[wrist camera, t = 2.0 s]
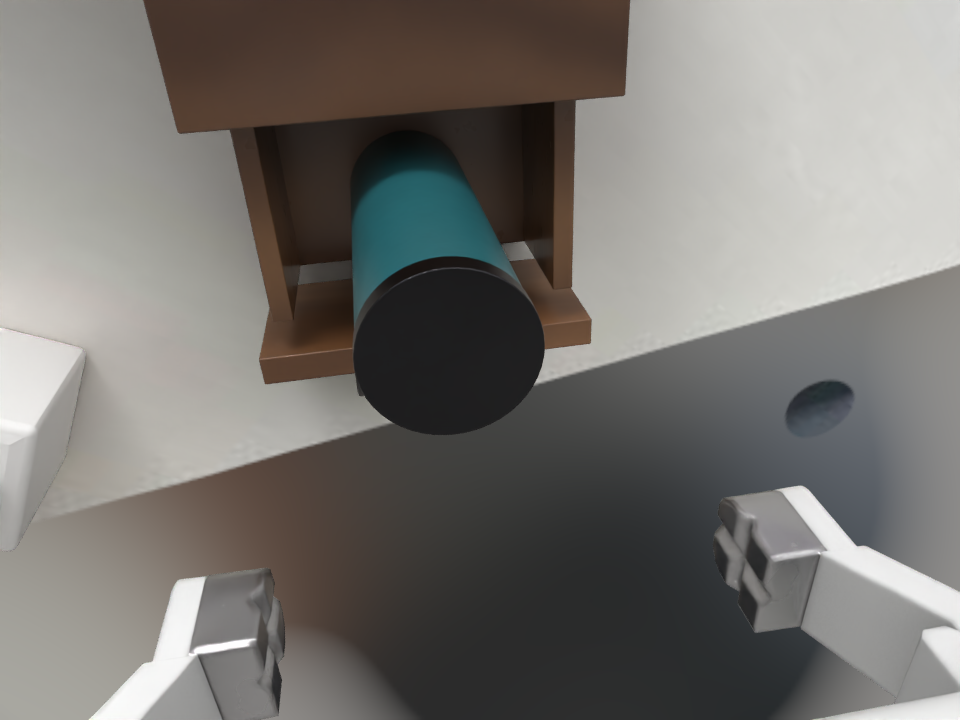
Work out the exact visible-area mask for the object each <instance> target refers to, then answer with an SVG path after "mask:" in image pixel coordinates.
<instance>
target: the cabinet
mask: <svg viewBox="0 0 960 720" xmlns="http://www.w3.org/2000/svg"><path fill="white" fill-rule="evenodd" d="M143 1H144V5H145V9H146V13H147V17H148V20H149V24H150V28H151V32H152V36H153V40H154V43H155V47H156V51H157V55H158V59H159V63H160V66H161V70H162V74H163V78H164V82H165V86H166V90H167V93H168V97H169V101H170V105H171V109H172V113H173V116H174V120H175V124H176V128H177V132H178V133H179V134H184V133H196V132H208V131H219V130H231V129H243V128H254V127H266V126H278V125H290V124H301V123H313V122H325V121H337V120H348V119H360V118H372V117H383V116H395V115H407V114H419V113H430V112H442V111H454V110H466V109H477V108H489V107H501V106H512V105H524V104H536V103H548V102H559V101H571V100H583V99H595V98H606V97H618V96H624V95H625V84H626V66H627V47H628V28H629V10H630V0H143Z"/></svg>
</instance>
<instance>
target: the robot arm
mask: <svg viewBox="0 0 960 720" xmlns="http://www.w3.org/2000/svg"><path fill="white" fill-rule="evenodd" d="M718 516H719V517H720V519H721V520H722V522H723V524H722V525H721V526H720V527H719V529H718V530H717V531H716V532H715V536H714V543H713V549H714V554H715V561H716V564H717V567H718V569H719V572H720V574H721V575H722V577H723V579H724V581H725V582H726V584H728V585H729V586H731V587H733V588H734V589H736V590H738V591H739V597H738V605H739V606H740V608H741V610H742V611H743V613H744V614H745V616H746V618H747V620H748V621H749V623H750V625H751V626H752V628H753V630H754V631H755V633H757V632H763V631H771V630H777V629H784V628H791V627H798V626H801V629H802V630H803V631H805V632H806V633H808V634H809V635H810V636H812V637H813V638H814V639H816V640H817V641H819V642H820V643H821V644H823V645H824V646H825V647H827V648H828V649H830V650H831V651H832V652H834V653H835V654H837V655H838V656H839V657H840V658H842V659H843V660H845V661H846V662H847V663H849V664H850V665H851V666H853V667H854V668H855V669H857V670H858V671H860V672H861V673H862V674H864V675H865V676H866V677H868V678H869V679H870V680H872V681H873V682H875V683H876V684H877V685H879V686H880V687H881V688H883V689H884V690H886V691H887V692H888V693H890V694H891V695H893V696H894V697H895V698H896V700H895V702H894V704H892V705H887V706H882V707H876V708H871V709H866V710H861V711H856V712H850V713H845V714H839V715H834V716H829V717H824V718H818V719H813V720H960V592H959V591H957V590H954V589H953V588H950V587H948V586H947V585H944V584H942V583H940V582H938V581H936V580H934V579H932V578H930V577H928V576H926V575H924V574H922V573H920V572H917V571H916V570H913V569H912V568H909V567H907V566H905V565H903V564H901V563H899V562H897V561H895V560H893V559H891V558H889V557H887V556H885V555H883V554H881V553H879V552H877V551H875V550H872V549H870V548H868V547H866V546H859V547H857V546H856V545H855V544H854V543H853V541H852V540H851V539H850V538H849V537H848V536H847V534H846V533H845V532H844V531H843V530H842V529H841V528H840V526H839V525H838V524H837V523H836V522H835V520H834V519H833V518H832V517H831V516H830V515H829V513H828V512H827V511H826V510H825V509H824V507H823V506H822V505H821V504H820V503H819V502H818V501H817V499H816V498H815V497H814V496H813V495H812V493H811V492H810V491H809V490H808V489H807V488H805V487H803V486H795V487H789V488H783V489H777V490H774V491H773V490H771V491H765V492H759V493H752V494H746V495H740V496H734V497H728V498H723V500H722V501H721V503H720V504H719V510H718ZM274 584H275V583H274V579H273V576H272V573H271V570H270V569H268V568H262V569H254V570H246V571H239V572H231V573H223V574H215V575H209V576H205V577H197V578H188V579H180V580H178V581H177V582H176V584H175V585H174V587H173V588H172V592H171V596H170V599H169V603H168V607H167V610H166V614H165V618H164V621H163V625H162V629H161V632H160V636H159V640H158V643H157V647H156V650H155V654H154V658H153V661H152V662H148V663H143V664H142V665H141V666H140V667H139V668H138V669H137V670H136V672H134V673H133V674H132V676H131V677H130V678H129V679H128V680H127V681H126V682H125V683H124V684H123V685H122V686H121V687H120V688H119V689H118V690H117V691H116V692H115V693H114V694H113V695H112V696H111V697H110V699H108V700H107V701H106V703H105V704H104V705H103V706H102V707H101V708H100V709H99V710H98V711H97V712H96V713H95V714H94V715H93V716H92V717H91V718H90V719H89V720H261V719H265V718H271V717H275V716H278V714H279V704H280V694H281V683H282V679H281V675H280V672H279V668H278V663H279V662H280V661H281V660H282V658H283V657H284V649H285V627H284V618H283V612H282V608H281V604H280V601H279V600H277V599H276V598H274V597H273V593H274Z"/></svg>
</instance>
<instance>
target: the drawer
mask: <svg viewBox="0 0 960 720" xmlns="http://www.w3.org/2000/svg"><path fill="white" fill-rule="evenodd" d="M575 102H576V100H571V101H559V102H548V103H536V104H524V105H512V106H501V107H489V108H477V109H466V110H454V111H442V112H430V113H419V114H407V115H395V116H383V117H372V118H360V119H348V120H337V121H325V122H313V123H301V124H290V125H278V126H266V127H254V128H243V129H231V130H230V132H231V137H232V141H233V146H234V150H235V155H236V159H237V164H238V168H239V173H240V177H241V181H242V186H243V190H244V195H245V199H246V204H247V208H248V213H249V217H250V222H251V226H252V231H253V235H254V240H255V244H256V249H257V253H258V258H259V262H260V267H261V271H262V276H263V280H264V284H265V289H266V293H267V298H268V302H269V307H270V308H269V313H268V318H267V323H266V328H265V333H264V338H263V343H262V348H261V353H260V358H259V362H260V366H261V370H262V374H263V378H264V382H265V384H272V383H280V382H288V381H296V380H304V379H312V378H320V377H328V376H336V375H344V374H352V373H355V371H354V366H353V332H354V308H353V279H346V280H337V281H328V282H319V283H310V284H301V285H298V281H299V274H300V266H301V265H307V264H317V263H326V262H335V261H345V260H352V230H351V191H350V185H351V176H352V171H353V168H354V166H355V163H356V161H357V159H358V158H359V156H360V155H361V153H362V152H363V151H364V150H365V149H366V147H367V146H369V145H370V144H371V143H372V142H373V141H375V140H376V139H378V138H380V137H382V136H384V135H386V134H389V133H392V132H397V131H418V132H422V133H426V134H428V135H431V136H433V137H435V138H436V139H438V140H440V141H441V142H442V143H444V144H445V145H446V146H447V147H448V148H449V149H450V150H451V151H452V153H453V154H454V155H455V157H456V159H457V160H458V162H459V164H460V166H461V168H462V170H463V172H464V174H465V176H466V178H467V180H468V182H469V184H470V186H471V188H472V190H473V191H474V193H475V195H476V197H477V199H478V201H479V203H480V205H481V207H482V209H483V211H484V213H485V215H486V217H487V219H488V221H489V223H490V225H491V227H492V229H493V231H494V233H495V235H496V237H497V239H498V241H499V242H500V244H503V243H512V242H521V241H525V243H526V244H527V246H528V248H529V249H530V251H531V253H532V255H533V256H534V258H535V259H527V260H518V261H509V262H510V264H511V266H512V268H513V270H514V272H515V274H516V276H517V278H518V280H519V282H520V284H521V286H522V288H523V289H524V290H525V291H526V293H527V294H528V296H529V298H530V299H531V301H532V303H533V305H534V307H535V309H536V311H537V313H538V315H539V318H540V320H541V323H542V327H543V331H544V339H545V349H551V348H559V347H567V346H575V345H583V344H590V343H591V318H590V316H589V315H588V313H587V312H586V310H585V309H584V307H583V306H582V304H581V302H580V301H579V299H578V298H577V296H576V295H575V293H574V292H573V290H572V289H571V287H572V255H573V204H574V153H575ZM356 382H357V379H356ZM357 389H358V394H359V396H364V394H363V392H362V391H361V389H360V387H359V384H358V382H357Z"/></svg>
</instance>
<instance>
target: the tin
mask: <svg viewBox="0 0 960 720" xmlns="http://www.w3.org/2000/svg"><path fill="white" fill-rule="evenodd" d="M350 191H351V230H352V269H353V308H354V332H353V366H354V371H355V376H356V379H357V382H358V384H359V387H360V389H361V391H362V392H363V394H364V396H365V397H366V399H367V400H368V401H369V403H370V404H371V405H372V406H373V407H374V408H375V409H376V410H377V411H378V412H379V413H380V414H381V415H383V416H384V417H385V418H387V419H388V420H390V421H391V422H393V423H395V424H397V425H399V426H401V427H404V428H406V429H409V430H412V431H415V432H420V433H424V434H432V435H452V434H460V433H465V432H470V431H473V430H477V429H479V428H482V427H485V426H487V425H489V424H491V423H493V422H495V421H497V420H499V419H501V418H502V417H503V416H505V415H506V414H508V413H509V412H510V411H512V410H513V409H514V408H515V407H516V406H517V405H518V404H519V403H520V402H521V401H522V400H523V399H524V398H525V396H526V395H527V394H528V392H529V391H530V390H531V388H532V387H533V385H534V383H535V381H536V379H537V377H538V375H539V372H540V370H541V367H542V363H543V358H544V350H545V339H544V331H543V327H542V323H541V320H540V318H539V315H538V313H537V311H536V309H535V307H534V305H533V303H532V301H531V299H530V298H529V296H528V294H527V293H526V291H525V290H524V289H523V288H522V286H521V284H520V282H519V280H518V278H517V276H516V274H515V272H514V270H513V268H512V266H511V264H510V262H509V260H508V258H507V256H506V254H505V252H504V250H503V248H502V246H501V244H500V242H499V241H498V239H497V237H496V235H495V233H494V231H493V229H492V227H491V225H490V223H489V221H488V219H487V217H486V215H485V213H484V211H483V209H482V207H481V205H480V203H479V201H478V199H477V197H476V195H475V193H474V191H473V190H472V188H471V186H470V184H469V182H468V180H467V178H466V176H465V174H464V172H463V170H462V168H461V166H460V164H459V162H458V160H457V159H456V157H455V155H454V154H453V153H452V151H451V150H450V149H449V148H448V147H447V146H446V145H445V144H444V143H442V142H441V141H440V140H438V139H436V138H435V137H433V136H431V135H428V134H426V133H422V132H418V131H397V132H392V133H389V134H386V135H384V136H382V137H380V138H378V139H376V140H375V141H373V142H372V143H371V144H370V145H369V146H367V147H366V149H365V150H364V151H363V152H362V153H361V155H360V156H359V158H358V159H357V161H356V163H355V166H354V168H353V171H352V176H351V185H350Z"/></svg>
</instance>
